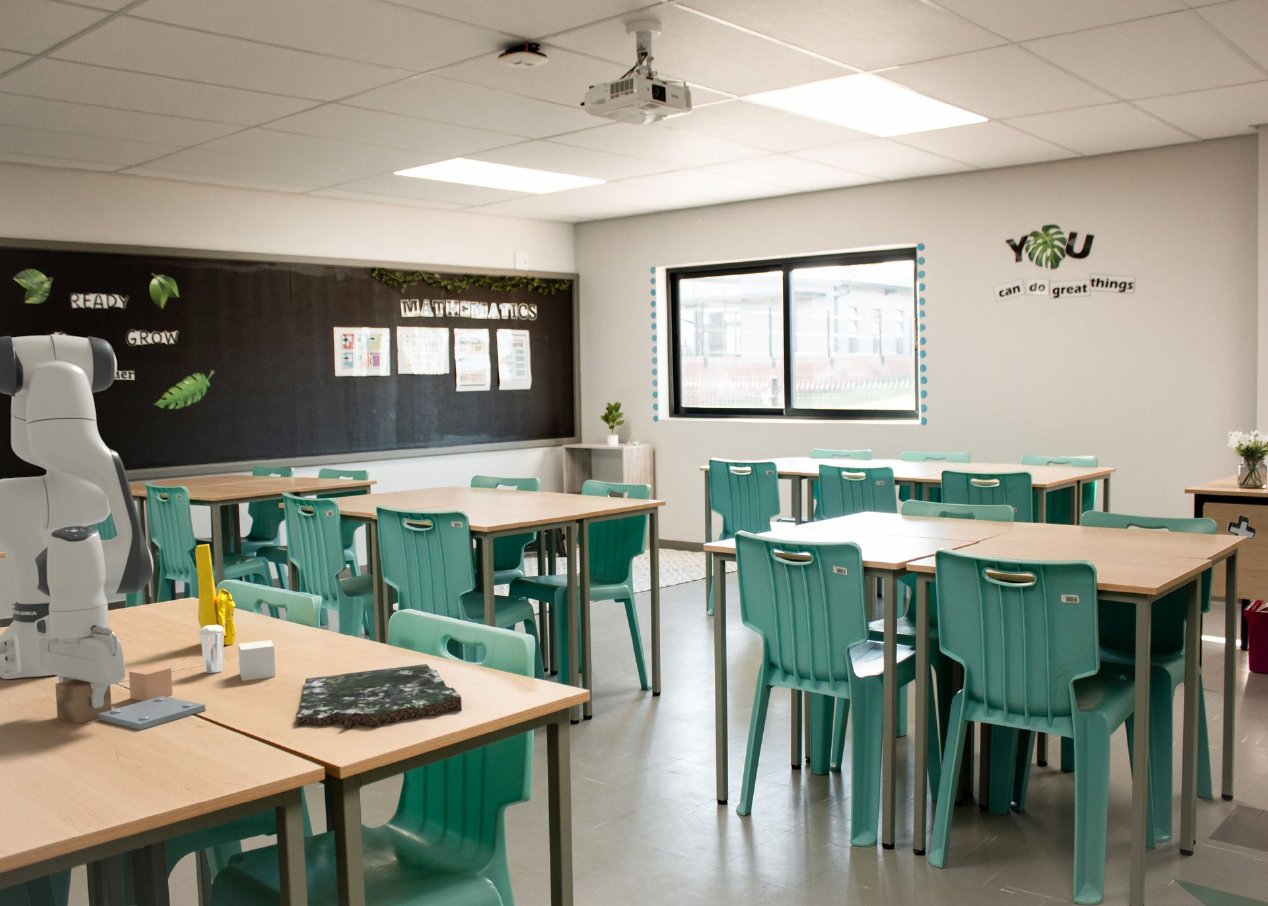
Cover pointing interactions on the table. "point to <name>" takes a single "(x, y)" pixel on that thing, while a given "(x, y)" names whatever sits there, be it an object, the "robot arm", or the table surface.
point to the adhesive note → (256, 660)
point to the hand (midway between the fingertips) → (84, 704)
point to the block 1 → (78, 701)
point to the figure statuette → (213, 597)
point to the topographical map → (376, 697)
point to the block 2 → (150, 682)
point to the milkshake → (212, 647)
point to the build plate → (151, 712)
